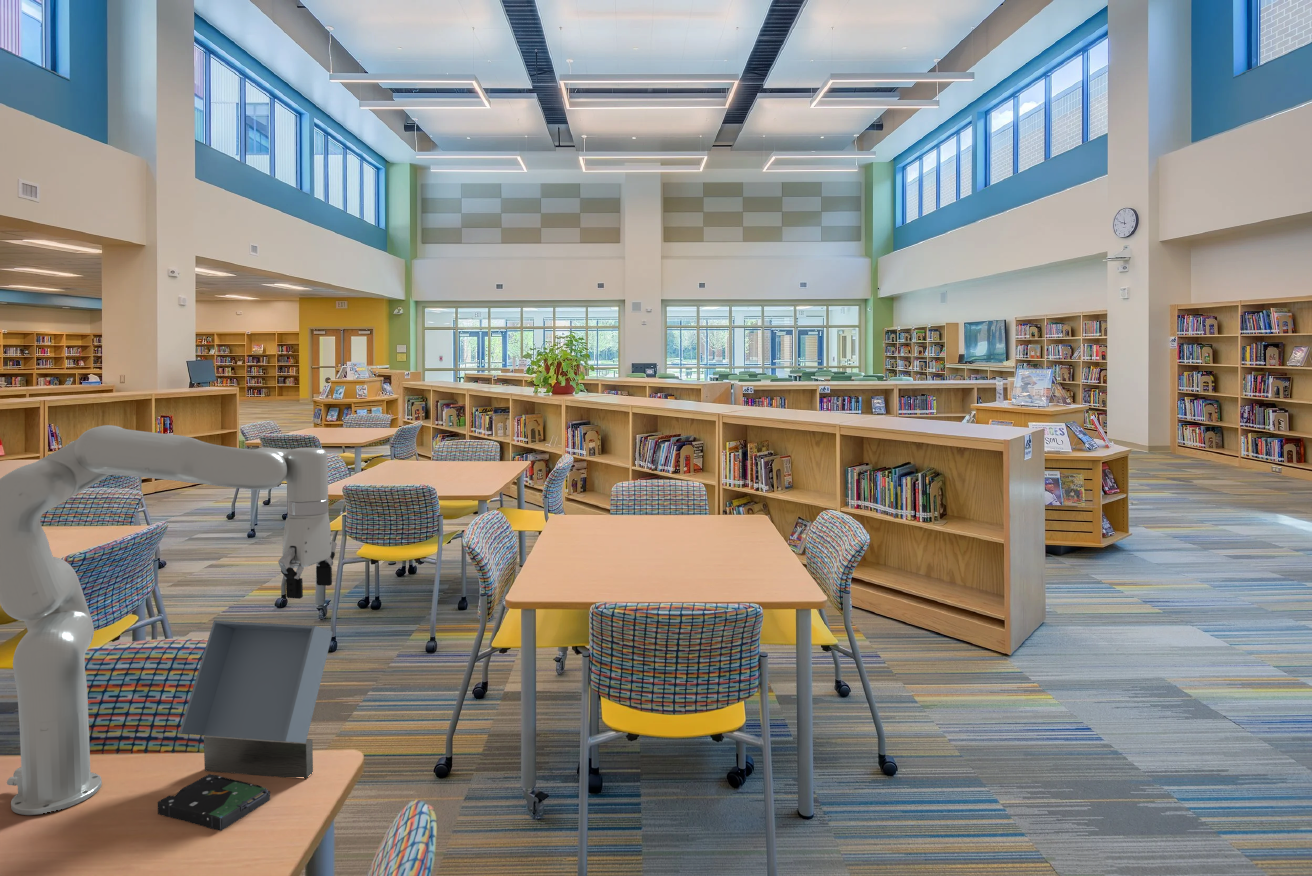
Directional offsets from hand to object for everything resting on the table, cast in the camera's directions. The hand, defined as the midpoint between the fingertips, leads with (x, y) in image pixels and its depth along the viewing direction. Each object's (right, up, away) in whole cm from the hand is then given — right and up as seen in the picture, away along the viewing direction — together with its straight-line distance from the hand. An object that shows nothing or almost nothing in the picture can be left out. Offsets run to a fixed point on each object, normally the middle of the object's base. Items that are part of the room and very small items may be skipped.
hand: (309, 591), depth 150 cm
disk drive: (-7, -34, -21) cm, 41 cm away
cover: (-5, -14, -13) cm, 20 cm away
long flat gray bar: (-5, -33, -10) cm, 35 cm away
